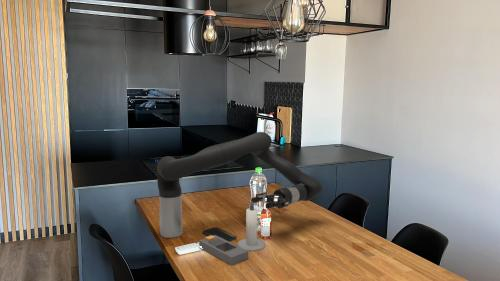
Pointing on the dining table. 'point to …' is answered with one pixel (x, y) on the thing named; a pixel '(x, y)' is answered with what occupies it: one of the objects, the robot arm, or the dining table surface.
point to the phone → (219, 234)
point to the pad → (257, 247)
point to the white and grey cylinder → (251, 225)
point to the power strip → (223, 249)
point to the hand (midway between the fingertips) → (258, 203)
